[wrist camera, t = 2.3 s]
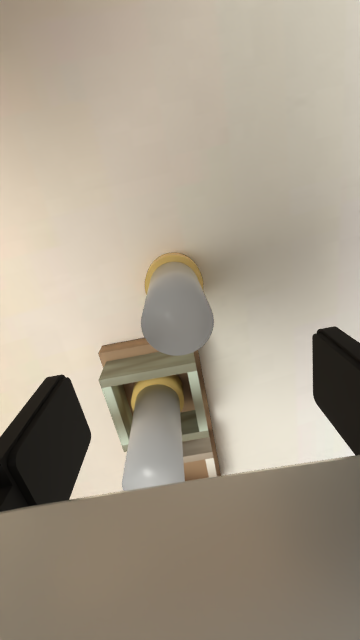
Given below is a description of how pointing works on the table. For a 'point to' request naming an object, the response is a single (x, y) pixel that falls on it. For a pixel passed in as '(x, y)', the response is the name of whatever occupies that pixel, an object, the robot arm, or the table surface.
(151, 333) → the grey rounded cylinder
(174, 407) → the seated sleeve
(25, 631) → the robot arm
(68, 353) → the table surface
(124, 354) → the socket board
